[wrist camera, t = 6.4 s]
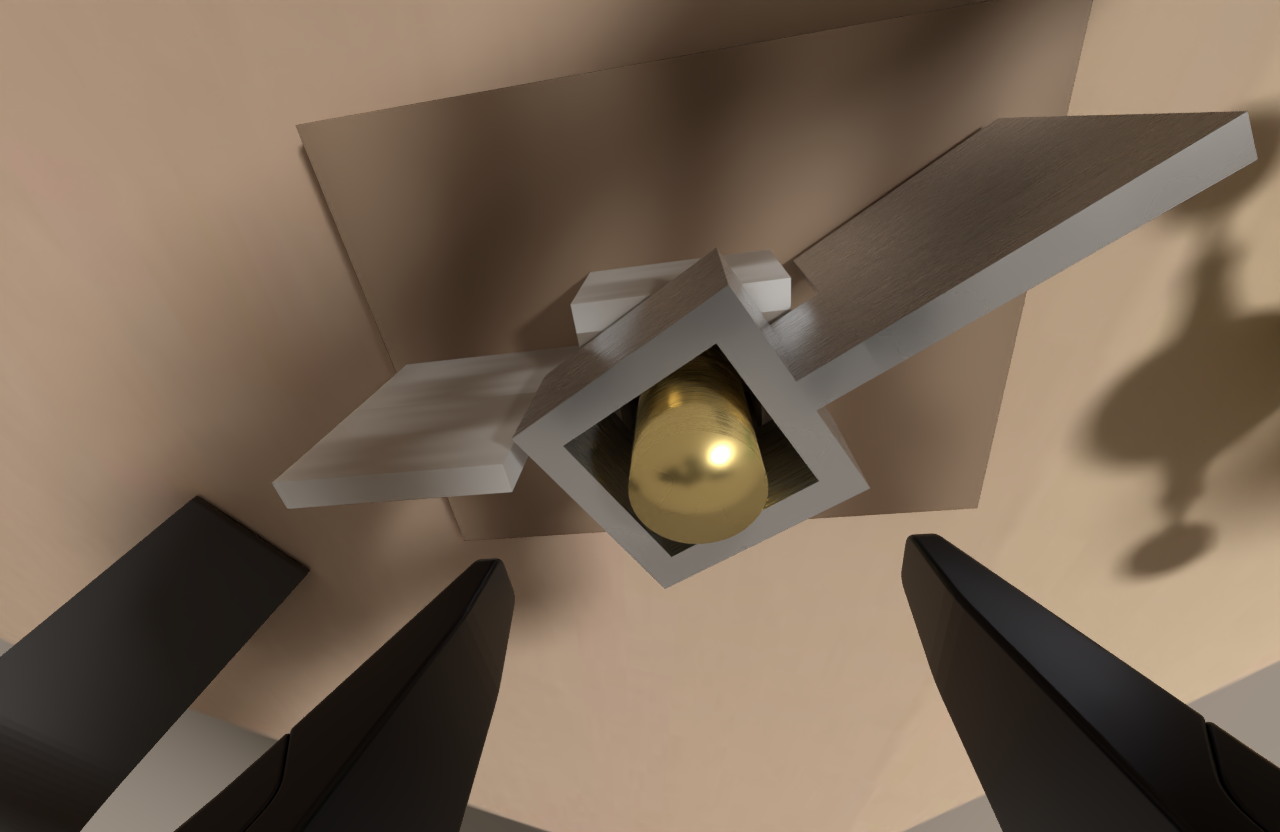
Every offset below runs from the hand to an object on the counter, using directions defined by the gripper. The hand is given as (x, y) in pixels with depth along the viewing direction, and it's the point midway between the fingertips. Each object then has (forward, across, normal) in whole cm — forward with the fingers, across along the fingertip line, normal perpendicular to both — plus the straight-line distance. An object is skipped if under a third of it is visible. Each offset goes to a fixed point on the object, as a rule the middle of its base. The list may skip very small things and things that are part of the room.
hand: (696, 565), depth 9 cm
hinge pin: (+10, 0, 0) cm, 10 cm away
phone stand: (+11, +25, +10) cm, 29 cm away
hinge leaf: (+10, -3, -2) cm, 10 cm away
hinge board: (+11, 0, 0) cm, 11 cm away
